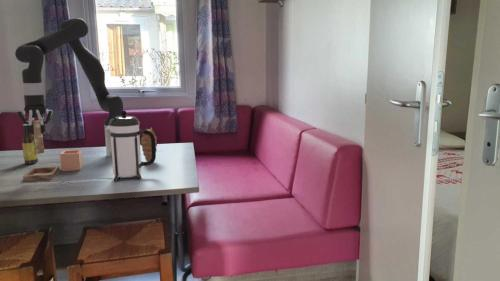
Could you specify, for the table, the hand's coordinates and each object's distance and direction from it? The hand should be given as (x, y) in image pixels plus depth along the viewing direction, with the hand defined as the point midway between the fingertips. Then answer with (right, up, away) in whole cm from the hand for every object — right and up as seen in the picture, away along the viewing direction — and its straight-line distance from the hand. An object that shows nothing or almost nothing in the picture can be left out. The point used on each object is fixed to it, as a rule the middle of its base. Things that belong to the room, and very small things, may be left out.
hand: (38, 133), depth 164 cm
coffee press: (+39, -20, +5) cm, 44 cm away
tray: (0, -20, +4) cm, 20 cm away
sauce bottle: (-20, -15, +29) cm, 38 cm away
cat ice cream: (+41, -15, +31) cm, 53 cm away
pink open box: (+8, -17, +16) cm, 25 cm away
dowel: (0, -8, +2) cm, 9 cm away
